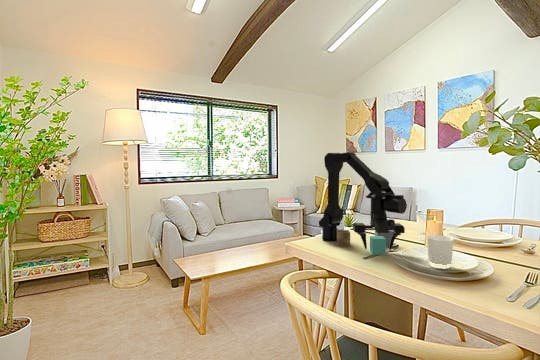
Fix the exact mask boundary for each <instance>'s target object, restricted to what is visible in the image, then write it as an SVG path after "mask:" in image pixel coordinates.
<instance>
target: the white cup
mask: <svg viewBox="0 0 540 360" xmlns="http://www.w3.org/2000/svg"><path fill="white" fill-rule="evenodd" d="M426 240H427V258H428V260H429V261H430V262H432V263H435V264H442V265H447V264H451V265H452V261H453V251H454V243H455V241H454V240H455V239H454V238H453V237H450V236H446V235H440V234H439V235H438V234H432V235H431V234H429V235H427V239H426Z"/></svg>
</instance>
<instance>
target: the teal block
mask: <svg viewBox="0 0 540 360" xmlns="http://www.w3.org/2000/svg"><path fill="white" fill-rule="evenodd" d="M369 252H370V253H371V254H372V255H381V256H382V255H387V254H386V253H387V245H386V239H385V238H384V237H383V236H375V235H370V236H369Z"/></svg>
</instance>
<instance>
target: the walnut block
mask: <svg viewBox="0 0 540 360" xmlns="http://www.w3.org/2000/svg"><path fill="white" fill-rule="evenodd" d="M336 245H337V247H341V248H347V247H348V248H350V247H351V232H350V230H349V229H344V230H343V229H338V230H337V241H336Z"/></svg>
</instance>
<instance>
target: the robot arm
mask: <svg viewBox="0 0 540 360" xmlns="http://www.w3.org/2000/svg"><path fill="white" fill-rule="evenodd" d="M344 163H347V164H348V165H349V166H350V167H351V168H352V169H353V171H355V172H356V174H357V175H359V176H360V178H362V179H363V181H364V184H365V187H366V188H367V189H368V191H369V193H368V194H367V195H366V196H365V198H366V199H370V221H369V224H370V225H369V224H367V225H365V223H364V222H353V224H352V231H353V232H354V233H357V235H359V236H360V238H361V241H362V244H363V247H364V249H365V250H368V249H367V247H368V245H367V233H366V231H375V230H376V232H377V233H389V246H388V250H389V251H390V250H391V249H392V247H393V244H394V242H395V240H396V238H398V236H401V235H402V234H405V229H406V228H405V226H404V225H402V224H401V223H400V222H399V223H398V222H397V223H396V221H395V220H394V219H388V218H387V217H388V216H387V212H388V213H393V214H394V213H395V214H400V215H401V214H402V215H403V214H405V212H406V210H407V208H408V203H407V201H406V199H405V198H404V195H403V194H395V192H394V191H393V189H392V188H391V186H390V182H389V181H388V179H387V178H385V177H383V176H382V175H380V174H378V173H376V172H374V171H373V170H372V169H371V168H369V166H367V165H366V164H365V162H364V161H362V160H361V159H360V158H359V157H358V156H357V155H356V153H355V152H353V151H351V152H350V151H345V152H341V153H340V152H327V153H326V154H325V156H324V167H325V170H326V172H327V175H328V176H327V205H326V206H325V207H324V211H323V216H322V218H321V219H320V220H319V221H318V225H319V228H320V227H321V229H322V234H321V239H322V241H324V242H326V241H327V242H337V230H339V229H338V227H339V226H340V225H341V222H342V221H343V218H344V217H345V215H344V208H342V207H341V206H340V173H341V171H342V169H343V167H344Z"/></svg>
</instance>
